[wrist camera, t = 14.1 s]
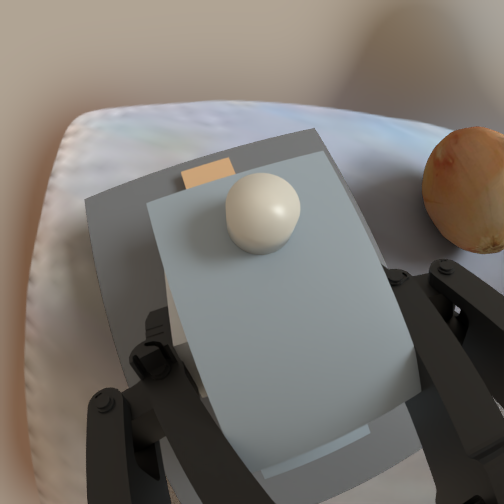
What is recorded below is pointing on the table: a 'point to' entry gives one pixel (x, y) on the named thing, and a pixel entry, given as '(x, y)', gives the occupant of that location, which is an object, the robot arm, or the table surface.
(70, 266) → the table surface
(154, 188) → the pocket block
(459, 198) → the onion
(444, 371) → the robot arm
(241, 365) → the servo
